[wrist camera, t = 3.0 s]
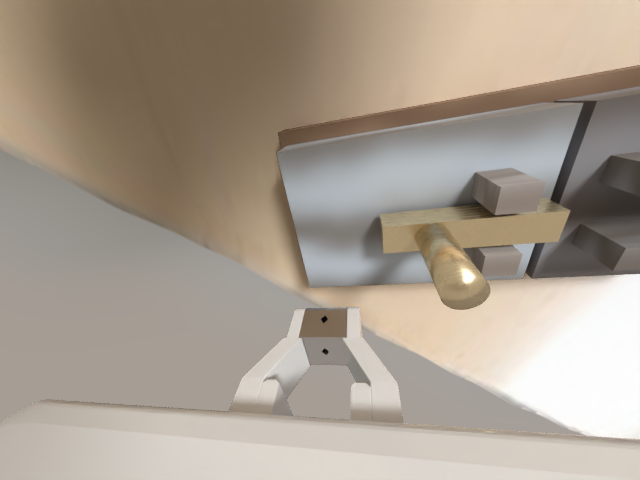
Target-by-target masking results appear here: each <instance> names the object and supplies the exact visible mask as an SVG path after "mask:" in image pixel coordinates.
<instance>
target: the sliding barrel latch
mask: <svg viewBox="0 0 640 480" xmlns="http://www.w3.org/2000/svg"><path fill="white" fill-rule="evenodd" d="M278 136H279V140H280V144H281V148H282V149H281V150H280V151H279V152H277V153H276V154H277V158H278V162H279V166H280V170H281V174H282V178H283V182H284V186H285V190H286V194H287V198H288V202H289V206H290V210H291V214H292V218H293V222H294V226H295V230H296V234H297V238H298V242H299V246H300V250H301V254H302V258H303V262H304V266H305V270H306V274H307V278H308V282H309V286H310V288H313V287H337V286H361V285H384V284H408V283H432V282H433V280H432V278H431V275H430V273H429V271H428V269H427V266H426V264H425V262H424V259H423V257H422V255H421V253H420V251H413V252H398V253H383V248H382V243H381V237H380V214H385V213H395V212H405V211H415V210H425V209H435V208H445V207H455V206H465V205H475V204H482V205H483V206H484V207H485V208H486V209H488V210H489V211H490V212H491V213H493V214H494V215H503V214H514V213H525V212H537V209H538V206H539V202H540V199H541V198H547V199H549V200H551V201H553V202H555V203H557V204H559V205H561V206H563V207H565V208H566V209H568V210H570V213H569V216H568V218H567V221H566V223H565V226H564V228H563V231H562V233H561V236H560V238H559V241H558V242H546V243H531V244H516V245H502V246H487V247H472V248H463V250H464V251H465V253H466V254H467V255H468V257H469V258H470V259H471V261H472V262H473V263H474V265H475V266H476V268H477V269H478V270H479V272H480V273H481V274H482V276H483V277H484V278H485V280H503V279H523V277H524V274H525V272H526V273H527V274H528V275H529V276H530V277H531V278H550V277H574V276H598V275H622V274H640V65H638V66H633V67H627V68H622V69H616V70H611V71H605V72H600V73H594V74H589V75H583V76H578V77H572V78H567V79H561V80H556V81H550V82H545V83H539V84H534V85H529V86H523V87H518V88H512V89H507V90H501V91H496V92H490V93H485V94H479V95H474V96H468V97H463V98H457V99H452V100H446V101H441V102H435V103H430V104H424V105H419V106H413V107H408V108H402V109H397V110H391V111H386V112H380V113H375V114H369V115H364V116H359V117H353V118H348V119H342V120H337V121H331V122H326V123H320V124H315V125H309V126H304V127H298V128H293V129H287V130H283V131H281V132H279V133H278Z"/></svg>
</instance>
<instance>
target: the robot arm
mask: <svg viewBox="0 0 640 480" xmlns="http://www.w3.org/2000/svg"><path fill="white" fill-rule="evenodd" d="M310 365H345V366H348V368H349V370H350V372H351V374H352V375H353V377H354V379H355V381H356V383H354V384H353V385H352V386H351V415H350V416H351V417H350V420H345V419H330V418H316V417H300V416H293V414H292V412H291V410H290V407H289V405H288V402H287V400H286V399H287V398H288V397H289V395H290V394H291V392H292V391H293V390H294V388H295V387H296V385H297V384H298V382H299V381H300V380H301V378H302V377H303V375H304V374H305V373H306V371H307V370H308V368H309V367H310ZM0 480H640V439H626V438H611V437H596V436H581V435H567V434H551V433H537V432H522V431H506V430H491V429H477V428H462V427H447V426H446V427H445V426H433V425H417V424H404V423H403V416H402V410H401V403H400V397H399V391H398V384H397V382H396V381H395V380H394V378H393V377H392V376H391V374H390V373H389V372H388V370H387V369H386V368H385V366H384V365H383V364H382V362H381V361H380V360H379V358H378V357H377V356H376V354H375V353H374V352H373V350H372V349H371V348H370V346H369V345H368V344H367V342H366V341H365V340H364V339H363V338H362V328H361V319H360V310H359V307H345V308H307V309H295V311H294V313H293V317H292V320H291V323H290V327H289V330H288V334H287V337H286V338H283V339H282V340H281V341H280V342H278V344H277V345H275V346H274V347H273V348H272V349H271V350H270V351H269V352H268V353H267V354H266V355H265V356H264V357H263V358H262V359H261V360H260V361H259V362H258V363H257V364H256V365H255V366H254V367H253V368H252V369H251V370H250V371H249V372H247V374H245V375H244V376H243V378H242V380H241V382H240V385H239V387H238V390H237V392H236V394H235V396H234V399H233V401H232V404H231V406H230V409H229V411H228V412H226V411H212V410H196V409H182V408H167V407H151V406H137V405H123V404H108V403H94V402H78V401H65V400H51V399H47V400H41V401H38V402H35V403H33V404H31V405H29V406H28V407H25V408H24V409H22V410H20V411H18V412H16V413H14V414H13V415H11V416H9V417H7V418H6V419H4V420H2V421H1V422H0Z"/></svg>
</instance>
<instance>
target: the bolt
mask: <svg viewBox="0 0 640 480" xmlns="http://www.w3.org/2000/svg"><path fill="white" fill-rule="evenodd" d="M569 213H570V210H568V209H566V208H565V207H563V206H561V205H559V204H557V203H555V202H553V201H551V200H549V199H547V198H541V199H540V202H539V206H538V209H537V212H525V213H514V214H503V215H494V214H493V213H491V212H490V211H489V210H488V209H486V208H485V207H484V206H483V205H482V204H475V205H465V206H455V207H445V208H435V209H425V210H415V211H405V212H395V213H385V214H380V237H381V243H382V248H383V253H398V252H413V251H420V253H421V255H422V257H423V259H424V262H425V264H426V266H427V269H428V271H429V273H430V275H431V278H432V280H433V282H434V285H435V287H436V289H437V292H438V294H439V296H440V298H441V301H442V302H443V303H444V304H445V305H446V306H448V307H450V308H452V309H458V310H464V309H470V308H473V307H476V306H478V305H480V304H482V303H483V302H484V301H485V300H486V299H487V298H488V296H489V294H490V286H489V284H488V283H487V281H486V280H485V278H484V277H483V276H482V274H481V273H480V272H479V270H478V269H477V268H476V266H475V265H474V263H473V262H472V261H471V259H470V258H469V257H468V255H467V254H466V253H465V251H464V250H463V248H472V247H487V246H502V245H516V244H531V243H546V242H558V241H559V238H560V236H561V233H562V231H563V228H564V226H565V223H566V221H567V218H568V216H569Z"/></svg>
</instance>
